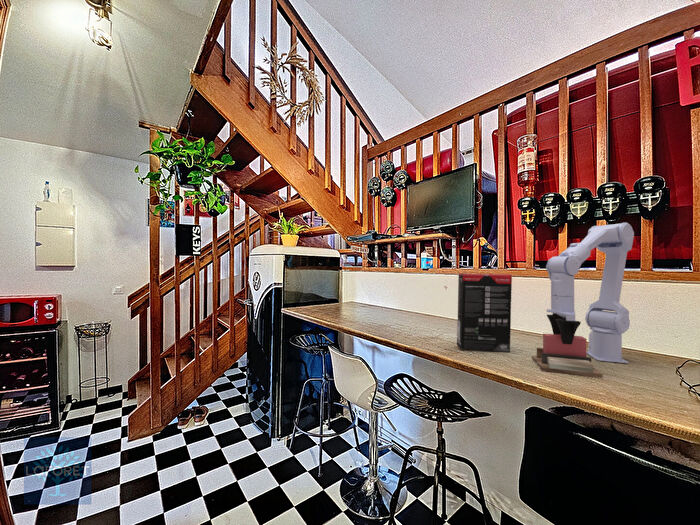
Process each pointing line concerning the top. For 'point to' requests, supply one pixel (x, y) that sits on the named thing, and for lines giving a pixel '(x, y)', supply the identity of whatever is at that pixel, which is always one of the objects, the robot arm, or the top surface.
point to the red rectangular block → (564, 345)
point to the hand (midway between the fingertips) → (562, 340)
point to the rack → (566, 364)
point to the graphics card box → (484, 312)
